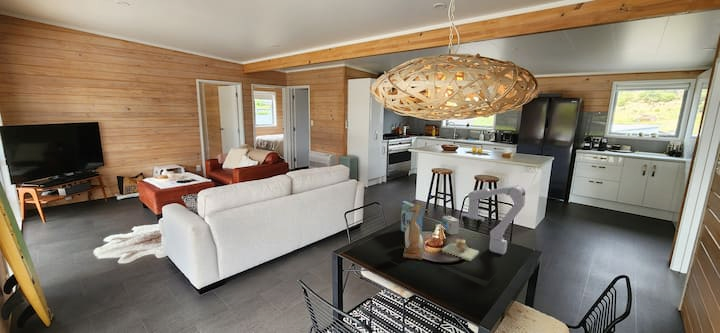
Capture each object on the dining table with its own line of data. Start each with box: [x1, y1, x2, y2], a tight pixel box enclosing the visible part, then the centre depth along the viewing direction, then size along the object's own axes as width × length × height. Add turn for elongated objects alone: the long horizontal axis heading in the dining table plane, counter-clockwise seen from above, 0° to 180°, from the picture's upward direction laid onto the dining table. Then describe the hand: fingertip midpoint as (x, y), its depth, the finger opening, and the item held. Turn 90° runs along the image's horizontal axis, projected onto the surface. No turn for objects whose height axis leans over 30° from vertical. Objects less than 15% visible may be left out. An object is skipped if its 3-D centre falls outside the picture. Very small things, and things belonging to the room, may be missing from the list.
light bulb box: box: [441, 215, 460, 235], centre depth 213 cm, size 11×7×11 cm, turn 25°
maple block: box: [455, 238, 466, 252], centre depth 181 cm, size 5×5×6 cm
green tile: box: [440, 242, 480, 262], centre depth 181 cm, size 18×14×2 cm
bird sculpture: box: [402, 202, 424, 261], centre depth 173 cm, size 11×12×32 cm
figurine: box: [404, 227, 424, 249], centre depth 181 cm, size 11×11×15 cm
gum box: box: [400, 200, 424, 237], centre depth 202 cm, size 19×5×23 cm, turn 22°
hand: (471, 229), depth 195 cm, fingers open, 7 cm apart
